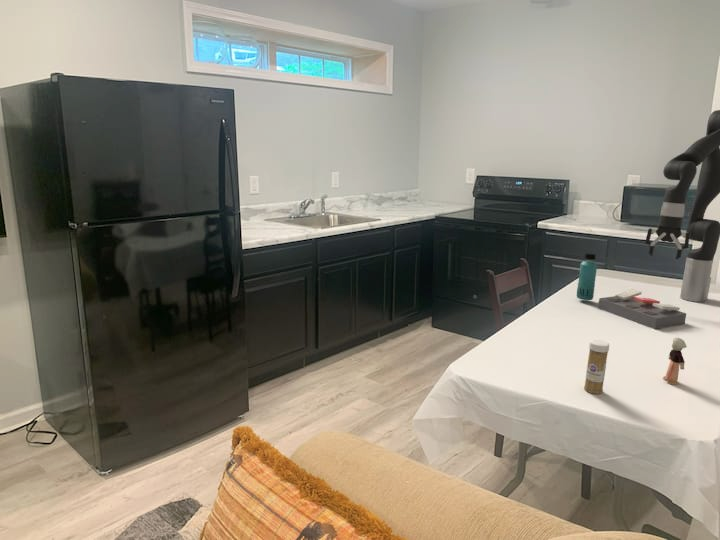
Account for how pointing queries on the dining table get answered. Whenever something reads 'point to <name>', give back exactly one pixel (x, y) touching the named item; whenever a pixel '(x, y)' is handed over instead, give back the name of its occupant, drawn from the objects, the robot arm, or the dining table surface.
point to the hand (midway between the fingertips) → (664, 257)
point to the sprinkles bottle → (596, 366)
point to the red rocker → (646, 300)
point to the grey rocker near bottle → (628, 294)
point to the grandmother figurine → (675, 361)
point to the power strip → (642, 312)
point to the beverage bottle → (587, 278)
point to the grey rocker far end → (666, 306)
